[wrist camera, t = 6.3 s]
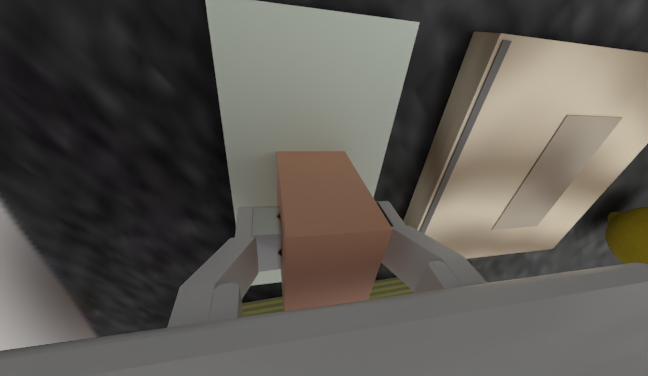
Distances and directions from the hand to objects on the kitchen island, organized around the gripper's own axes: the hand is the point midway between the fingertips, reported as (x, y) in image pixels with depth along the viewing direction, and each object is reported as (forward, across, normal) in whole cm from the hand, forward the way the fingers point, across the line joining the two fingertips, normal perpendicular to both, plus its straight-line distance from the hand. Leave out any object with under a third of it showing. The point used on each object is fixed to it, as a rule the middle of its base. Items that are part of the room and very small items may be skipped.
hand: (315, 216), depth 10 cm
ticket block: (+4, +14, 0) cm, 15 cm away
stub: (+3, 0, 0) cm, 3 cm away
